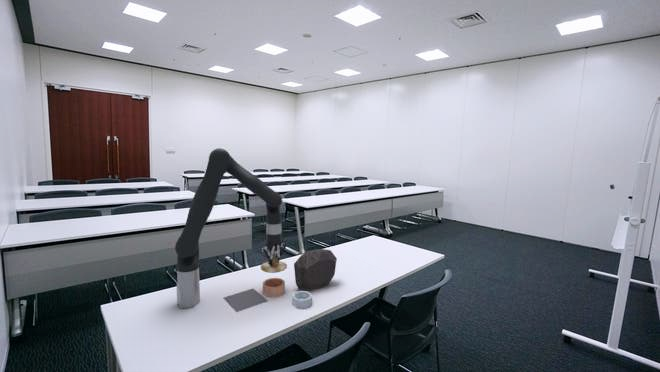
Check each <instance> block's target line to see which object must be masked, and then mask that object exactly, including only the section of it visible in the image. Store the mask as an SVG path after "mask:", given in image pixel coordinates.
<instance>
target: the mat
mask: <svg viewBox="0 0 660 372" xmlns="http://www.w3.org/2000/svg"><path fill="white" fill-rule="evenodd" d="M223 300H225V302H226V303H227V304H228V305H229V306H230V307H231V308H232V309H233V310H234V311H235V312H236V313H239V312H241V311H244V310H247V309H250V308H253V307H257V306H258V305H261V304H264V303H267V302H269V300H268V299H267V298H266V297H265V296H264V295H262V294H261V293H260V292H258V291H257V290H256V289H255V288H250V289H247V290H244V291H239V292H237V293H233V294H231V295H228V296H227V295H226V296H224V297H223Z"/></svg>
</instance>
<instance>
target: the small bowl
mask: <svg viewBox="0 0 660 372" xmlns="http://www.w3.org/2000/svg"><path fill="white" fill-rule="evenodd" d="M312 304H313V294H312V293H310V292H309V291H308V290H307V291H306V290H299V291H296V292H293V294H292V297H291V305H292V306H294V307H295V308H297V309H302V310H303V309H307V308H310V307H312Z"/></svg>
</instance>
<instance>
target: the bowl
mask: <svg viewBox="0 0 660 372" xmlns="http://www.w3.org/2000/svg"><path fill="white" fill-rule="evenodd" d="M285 283H286V281H285V280H284V279H283V278H281V277H270V278H267V279H265V280H264V281H262V294H263V296H264V297H265V296H266V297H271V298H272V297H275V298H276V297H279V296H283V294H285V292H286V291H285V290H286V289H285V288H286V284H285Z"/></svg>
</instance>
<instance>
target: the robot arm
mask: <svg viewBox="0 0 660 372" xmlns="http://www.w3.org/2000/svg"><path fill="white" fill-rule="evenodd" d="M205 169H206V170H205V173H204V176H203V178H202V179H201V181H200V182H199V185H198V186H197V189H196V191H195V193H194V195H193V198H192V200H191V203H190V206H189V209H188V213H187V217H186V221H185V224H184V228H183V230H182V232H181V233H180V236H179V237H178V238H177V240H176V242H175V246H174V250H175V253H176V254H177V260H176V261H177V262H176V273H177V276H176V278H177V279H176V280H177V284H176V285H175V286H176V303H177V305H178V307H179V308H180V310H181V309H189V308H193V307H195V306H197V305H199V304H200V303H201V289H200V286H201V285H200V284H201V283H200V243H199V241H200V238H201V234H202V231H203V229H204V226H205V225H206V223H207V221H208V220H209V218H210V216H211V213H212V211H213V209H214V205H215V202H216V200H217V198H218V193H219V190H220V185H221V181H222V179H223V177H224V175H225V173H228V174H229V175H231V176H232V177H233V178H234V179H236V180H237V181H238V182H239V183H240V184H241V185H243V187H245V188H246V189H247V190H249V191H250V192H251V193H253V194H254V195H255V196H257V197H259V198H260V199H261V200H262V201H263V202H264V203H265V207H266V227H265V230H266V231H265V233H266V237H265V239H266V244H265V246H264V247H261V248H260V250H261V251H262V254H263V257H264V258H265V259H267V262H268V264H269V265H270V266H272V265H273V259H272V257H273V256H276V257H278V263H279V261H280V257H281V256H283V255H284V252H285V250H286V247H287V244H286V243H284V242H282V235H283V233H282V230H283V229H282V213H281V210H280V209H281V205H282V203H283V198H282V196H281V194H280V193H278V192H277V191H275V190H274V189H272V188H271V187H269V186H268V185H267V184H266V183H265V182H264V181H263V180H261V179H260V178H259V177H257V176H256V175H255V174H253V173H252V172H250V171H249V170H247V169H245V167H243V166H242V165H241V164H239V163H238V162H237V161H236V160H235V159H234V158H233V157H232V155H230V153H229V152H228V151H227V150H226V149H224V148H215V149H213V150H212V151H211V152H210V153H209V155H208V161H207V166H206V168H205Z"/></svg>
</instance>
